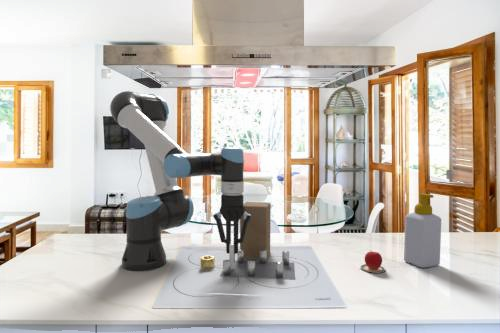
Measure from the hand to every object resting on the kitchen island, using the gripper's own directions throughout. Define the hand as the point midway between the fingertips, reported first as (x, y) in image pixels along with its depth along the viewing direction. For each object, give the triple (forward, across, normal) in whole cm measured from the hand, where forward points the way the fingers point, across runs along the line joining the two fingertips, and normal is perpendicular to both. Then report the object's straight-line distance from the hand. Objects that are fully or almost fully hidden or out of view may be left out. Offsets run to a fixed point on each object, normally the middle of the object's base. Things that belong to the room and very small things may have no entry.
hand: (232, 262), depth 121 cm
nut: (+3, -9, +1) cm, 9 cm away
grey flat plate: (+2, +9, 0) cm, 9 cm away
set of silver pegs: (+2, +9, 0) cm, 9 cm away
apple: (+3, +48, +6) cm, 48 cm away
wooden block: (+3, +6, +15) cm, 17 cm away
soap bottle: (+2, +66, +14) cm, 68 cm away
